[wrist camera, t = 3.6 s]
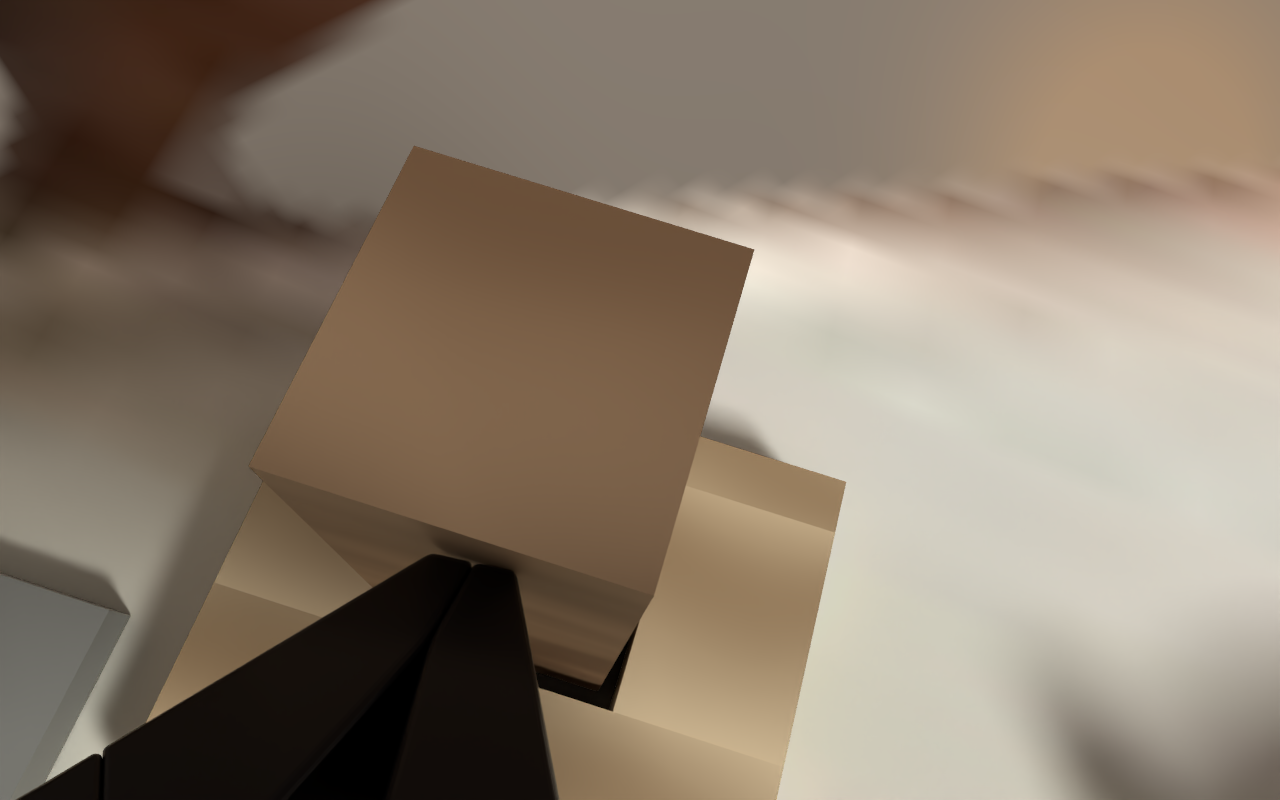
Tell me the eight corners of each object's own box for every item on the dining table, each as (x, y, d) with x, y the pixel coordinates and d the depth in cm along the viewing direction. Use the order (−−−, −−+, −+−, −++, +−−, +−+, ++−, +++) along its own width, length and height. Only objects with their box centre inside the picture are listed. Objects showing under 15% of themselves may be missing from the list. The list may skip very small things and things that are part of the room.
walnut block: (597, 691, 16) (654, 596, 7) (420, 634, 16) (247, 466, 7) (649, 518, 18) (754, 249, 8) (486, 467, 18) (413, 145, 8)
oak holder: (702, 1003, 15) (722, 1044, 13) (151, 818, 15) (93, 833, 13) (817, 507, 18) (845, 482, 16) (362, 364, 18) (339, 323, 16)
